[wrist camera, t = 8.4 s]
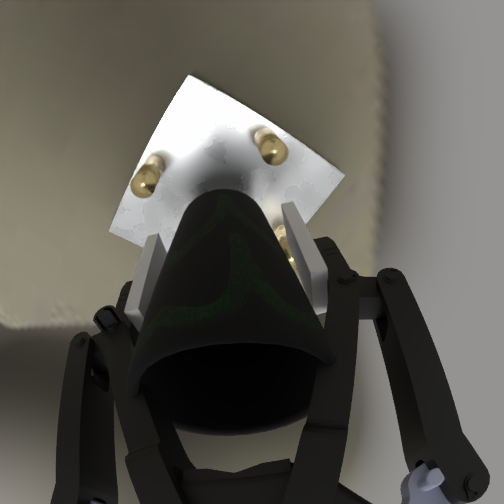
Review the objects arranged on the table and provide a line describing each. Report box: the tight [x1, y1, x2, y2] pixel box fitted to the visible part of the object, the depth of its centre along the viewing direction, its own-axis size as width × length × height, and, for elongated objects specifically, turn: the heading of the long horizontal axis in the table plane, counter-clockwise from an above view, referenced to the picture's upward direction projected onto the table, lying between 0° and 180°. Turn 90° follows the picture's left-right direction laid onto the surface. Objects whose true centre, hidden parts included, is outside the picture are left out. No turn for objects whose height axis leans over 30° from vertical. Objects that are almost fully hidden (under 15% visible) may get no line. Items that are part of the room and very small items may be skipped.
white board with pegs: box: [109, 75, 345, 270], centre depth 21 cm, size 14×14×6 cm
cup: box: [126, 189, 337, 436], centre depth 14 cm, size 8×8×12 cm
